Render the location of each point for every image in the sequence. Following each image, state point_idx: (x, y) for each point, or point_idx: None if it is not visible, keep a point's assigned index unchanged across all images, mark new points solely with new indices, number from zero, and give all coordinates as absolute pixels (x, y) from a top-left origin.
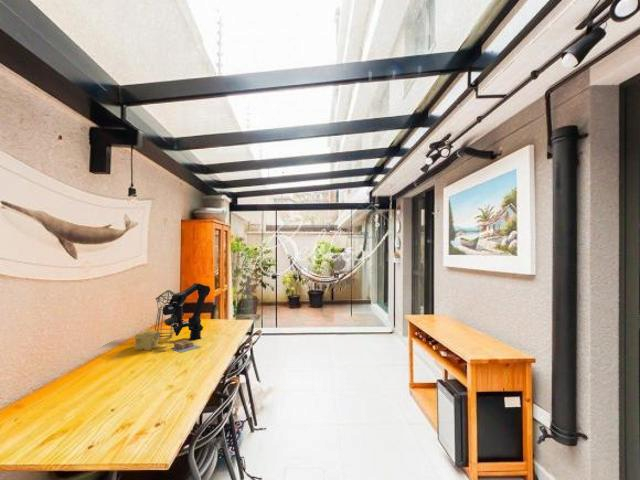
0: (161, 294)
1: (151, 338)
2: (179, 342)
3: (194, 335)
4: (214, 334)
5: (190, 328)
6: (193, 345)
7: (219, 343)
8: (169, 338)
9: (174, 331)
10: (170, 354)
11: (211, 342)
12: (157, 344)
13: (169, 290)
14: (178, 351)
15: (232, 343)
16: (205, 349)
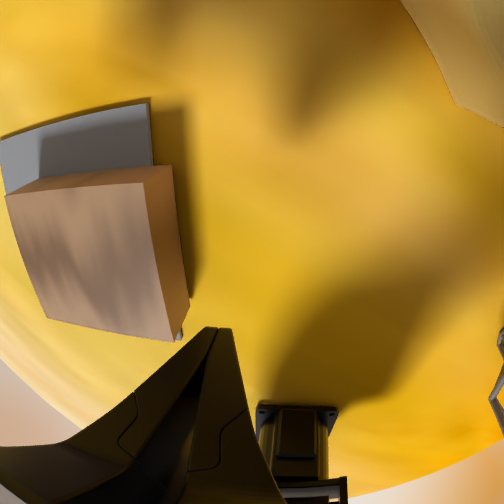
0: None
1: None
2: (102, 235)
3: (271, 442)
4: None
5: (339, 492)
6: None
7: (76, 394)
8: (502, 330)
9: (491, 405)
10: (19, 47)
11: (117, 400)
12: (457, 93)
13: None
14: (27, 131)
15: (52, 402)
16: (2, 290)
